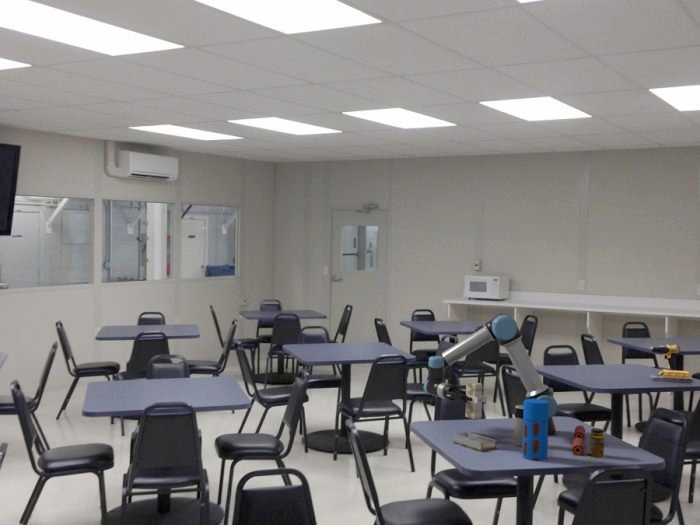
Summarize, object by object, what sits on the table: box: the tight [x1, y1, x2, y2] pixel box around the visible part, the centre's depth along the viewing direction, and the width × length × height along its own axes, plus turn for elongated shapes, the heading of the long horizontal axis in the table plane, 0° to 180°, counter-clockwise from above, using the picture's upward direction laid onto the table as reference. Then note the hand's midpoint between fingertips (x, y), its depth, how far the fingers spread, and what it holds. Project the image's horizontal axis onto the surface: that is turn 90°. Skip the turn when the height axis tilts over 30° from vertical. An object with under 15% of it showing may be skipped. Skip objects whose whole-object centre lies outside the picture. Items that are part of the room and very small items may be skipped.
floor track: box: [453, 431, 498, 453], centre depth 358 cm, size 18×10×4 cm, turn 34°
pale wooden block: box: [464, 381, 483, 420], centre depth 360 cm, size 6×4×16 cm
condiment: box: [582, 427, 608, 459], centre depth 346 cm, size 7×8×12 cm
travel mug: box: [513, 404, 524, 447], centre depth 363 cm, size 8×8×18 cm
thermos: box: [522, 398, 549, 462], centre depth 340 cm, size 11×11×25 cm
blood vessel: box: [571, 425, 586, 456], centre depth 366 cm, size 42×5×5 cm, turn 162°
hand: (481, 400), depth 355 cm, fingers closed on pale wooden block, 4 cm apart
